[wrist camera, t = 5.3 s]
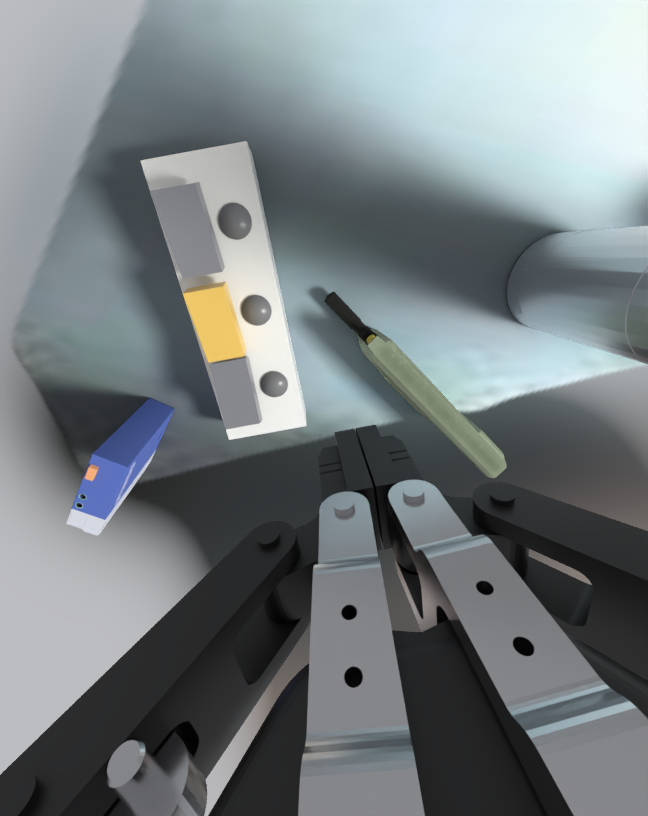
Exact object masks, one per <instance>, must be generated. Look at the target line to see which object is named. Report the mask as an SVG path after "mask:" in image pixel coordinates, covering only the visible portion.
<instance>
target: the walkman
mask: <svg viewBox="0 0 648 816" xmlns="http://www.w3.org/2000/svg"><path fill="white" fill-rule="evenodd" d="M173 411H174V408H172V407H169V406H167V405H165V404H163V403H160V402H158V401H156V400H154V399H151V398H149V399H148V400H147V401H146V402H145V403H144V404H143V405H142V406H141V407H140V408H139V409H138V410H137V411H136V412H135V413H134V414H133V415H132V416H131V417H130V418H129V419H128V420H127V421H126V422H125V423H124V424H123V425H122V426H121V427H120V428H118V429H117V430H116V431H115V432H114V433H113V434H112V435H111V436H110V437H109V438H108V439H107V440H106V441H105V442H104V443H103V444H102V445H101V446H100V447H99V448H98V449H97V450H96V451H95V452H94V453H93V454H92V456H91V459H90V462H89V464H88V467H87V469H86V472H85V475H84V477H83V480H82V482H81V485H80V488H79V490H78V493H77V495H76V498H75V501H74V503H73V506H72V510H71V512H70V515H69V517H68V520H67V523H66V524H69V525H72V526H75V527H78V528H81V529H83V530H82V531H85V532H88V533H91V534H94V535H99V534H100V533H101V531H102V530H103V528H104V527H105V525H106V524H107V523H108V521H109V520H110V518H111V517H112V515H113V514H114V513H115V511H116V510H117V508H118V507H119V506H120V505H121V503H122V502H123V500H124V499H125V498H126V496H127V495H128V493H129V492H130V490H131V489H132V488H133V486H134V485H135V483H136V482H137V481H138V479H139V478H140V476H141V475H142V473H143V472H144V471H145V469H146V468H147V466H148V465H149V463H150V462H151V460H152V457H153V455H154V453H155V451H156V449H157V446H158V444H159V442H160V440H161V438H162V435H163V433H164V431H165V429H166V427H167V424H168V422H169V420H170V418H171V416H172V413H173Z"/></svg>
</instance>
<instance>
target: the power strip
mask: <svg viewBox="0 0 648 816" xmlns="http://www.w3.org/2000/svg"><path fill="white" fill-rule="evenodd" d="M140 161H141V164H142V168H143V171H144V174H145V177H146V180H147V183H148V186H149V190H150V191H153V190H158V189H163V188H169V187H174V186H179V185H185V184H190V183H196V182H199V183H200V186H201V190H202V193H203V196H204V199H205V203H206V206H207V209H208V213H209V216H210V219H211V223H212V226H213V229H214V232H215V236H216V239H217V242H218V246H219V249H220V252H221V256H222V259H223V262H224V266H225V268H224V270H223V272H219V273H214V274H208V275H203V276H197V277H192V278H186V279H182V276H181V273H180V271H179V268H178V265H177V263H176V260H175V258H174V255H173V252H172V250H171V247H170V244H169V242H168V239H167V236H166V234H165V231H164V228H163V226H162V223H161V221H160V218H159V215H158V213H157V215H158V218H159V221H160V224H161V227H162V230H163V234H164V237H165V240H166V243H167V246H168V249H169V252H170V256H171V259H172V262H173V265H174V268H175V271H176V274H177V277H178V281H179V284H180V287H181V290H182V293H184V292H185V290H186V289H187V288H192V287H198V286H203V285H209V284H214V283H219V282H225V281H226V283H227V286H228V290H229V293H230V296H231V300H232V303H233V306H234V310H235V313H236V316H237V320H238V323H239V326H240V330H241V333H242V336H243V340H244V343H245V347H246V352H245V356H243V357H237V358H232V359H226V360H221V361H215V362H210V363H208V360H207V358H206V355H205V352H204V350H203V347H202V344H201V342H200V339H199V336H198V334H197V331H196V328H195V326H194V323H193V320H192V318H191V315H190V312H189V310H188V312H189V315H190V318H191V321H192V325H193V328H194V331H195V334H196V337H197V340H198V343H199V347H200V350H201V353H202V356H203V359H204V362H205V365H206V369H207V372H208V375H209V378H210V381H211V384H212V387H213V390H214V394H215V397H216V400H217V403H218V406H219V409H220V405H219V401H218V397H217V393H216V389H215V385H214V381H213V377H212V373H211V369H210V364H213V363H218V362H223V361H229V360H234V359H240V358H245V357H249V361H250V365H251V370H252V374H253V379H254V383H255V388H256V392H257V397H258V401H259V406H260V410H261V415H262V421H261V423H259V424H254V425H248V426H243V427H237V428H232V429H226V431H227V434H228V438H229V440H232V439H237V438H243V437H248V436H253V435H259V434H264V433H270V432H275V431H281V430H286V429H292V428H297V427H303V426H307V425H306V410H305V405H304V400H303V395H302V390H301V385H300V381H299V376H298V371H297V366H296V361H295V357H294V352H293V347H292V342H291V337H290V332H289V328H288V323H287V318H286V313H285V308H284V304H283V299H282V294H281V289H280V284H279V279H278V275H277V270H276V265H275V260H274V255H273V251H272V246H271V241H270V236H269V231H268V226H267V222H266V217H265V212H264V207H263V202H262V198H261V193H260V188H259V183H258V178H257V173H256V169H255V164H254V159H253V155H252V152H251V150H250V148H249V146H248V143H247V141H244V142H238V143H233V144H227V145H222V146H216V147H211V148H205V149H200V150H195V151H189V152H184V153H178V154H173V155H167V156H162V157H157V158H151V159H146V160H140ZM155 208H156V207H155ZM156 212H157V210H156ZM185 303H186V302H185ZM186 306H187V304H186ZM187 309H188V307H187ZM220 412H221V409H220ZM221 416H222V413H221ZM222 419H223V417H222ZM223 422H224V421H223Z"/></svg>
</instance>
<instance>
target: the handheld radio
mask: <svg viewBox="0 0 648 816" xmlns="http://www.w3.org/2000/svg"><path fill="white" fill-rule="evenodd" d="M325 303H326V304H327V305H328V306H329V307H330V308H331V309H332V310H333V311H334V312H335V313H336V314H337V315H338V316H339V317H340V318H341V319H342V320H343V321H344V322H345V323H346V324H347V325H348V326H349V327H350V328H351V329H353V330H354V331H355V334H356V335H357V337H358V339H359V346H360V348H361V350H362V352H363V353H364V355H365V356H366V357H367V358H368V359H369V360H370V361H371V363H372V364H373V365H374V366H375V367H376V368H377V371H378V372H379V373H380V374H381V375H382V376H383V377H384V378H385V380H386V381H387V382H388V383H389V384H390V385H391V386H392V387H393V388H394V389H395V390H396V391H397V392H398V393H399V394H400V395H401V396H402V397H403V398H404V399H405V400H406V401H407V402H408V403H409V404H410V405H411V406H412V407H413V408H414V409H415V410H416V411H417V412H418V413H419V414H420V415H421V416H425V417H426V418H427V419H428V420H429V421H430V422H431V423H433V424H434V425H435V426H436V427H437V428H438V429H439V430H440V431H441V432H442V433H443V434H444V435H445V436H446V437H447V438H448V439H449V440H450V441H451V442H452V443H453V444H454V445H455V446H456V447H457V448H458V449H459V450H460V451H461V452H462V453H463V454H464V455H465V456H466V457H467V458H468V459H469V460H470V461H471V462H472V463H473V464H474V465H476V466H477V467H478V468H479V469H480V470H481V471H482V472H483V473H484V474H485V475H486V476H487V477H490V478H496V477H497V476H498V475H499V474H500V473H501V472H502V471H503V470H505V469H506V462H505V460H504V455H503V453H502V452H501V450H500V449H499V448H498V447H497V446H496V445H495V444H494V443H493V442H492V441H491V440H490V439H489V438H488V437H487V435H485V433H484V432H483V431H482V430H481V429H479V428H478V427H477V426H476V425H475V424H473V423H472V422H471V421H470V420H468V418H466V417H465V416H464V415H463V414H462V413H460V412H459V411H458V410H457V409H456V408H455V407H454V406H453V405H452V404H451V403H450V402H449V401H448V400H447V399H446V397H445V396H444V395H443V394H442V393H441V392H440V391H439V390H438V389H437V388H436V387H435V386H434V385H433V384H432V383H431V382H430V380H429V379H428V378H427V377H426V376H425V375H424V374H423V373H422V372H421V371H420V370H419V369H418V368H417V367H416V366H415V364H414V363H413V362H412V361H411V360H410V359H409V358H408V357H407V356H406V355H405V354H404V353H403V352H402V351H401V350H400V349H399V347H398V346H397V345H396V344H395V343H394V342H393V341H392V340H391V339H389V338H388V337H386V336H385V335H383V334H382V333H381V332H379V331H378V330H376V329H371V330H370V329H369V328H368V327H367V326H365V325H364V324H363V323H362V322H361V319H360V318H359V317H358V316H357V315H356V314H355V313H354V312H353V311H352V310H351V309H350V308H349V307H348V306H347V305H346V304H345V303H344V302H343V301H342V300H341V299H340V297H339V296H338V295H337V294H336V293H335V292H332V293H330V294H329V295H328V296H327V297H326V299H325Z"/></svg>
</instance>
